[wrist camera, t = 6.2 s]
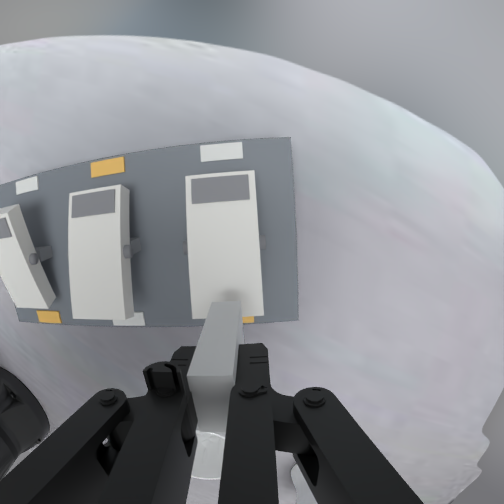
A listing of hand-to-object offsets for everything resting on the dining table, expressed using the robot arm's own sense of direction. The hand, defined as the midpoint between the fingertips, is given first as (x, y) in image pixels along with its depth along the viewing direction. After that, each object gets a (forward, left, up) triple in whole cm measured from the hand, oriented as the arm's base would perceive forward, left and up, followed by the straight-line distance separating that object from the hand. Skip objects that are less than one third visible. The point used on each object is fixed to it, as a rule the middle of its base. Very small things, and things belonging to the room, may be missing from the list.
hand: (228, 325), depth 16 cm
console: (-9, +3, -14) cm, 17 cm away
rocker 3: (0, +3, -5) cm, 6 cm away
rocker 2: (-9, +3, -5) cm, 11 cm away
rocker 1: (-18, +3, -5) cm, 19 cm away
